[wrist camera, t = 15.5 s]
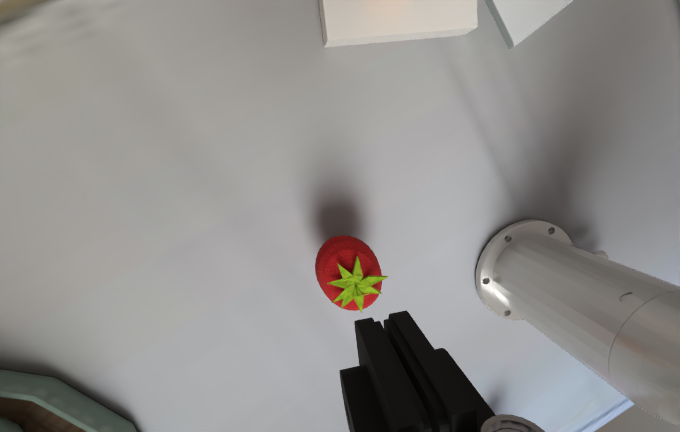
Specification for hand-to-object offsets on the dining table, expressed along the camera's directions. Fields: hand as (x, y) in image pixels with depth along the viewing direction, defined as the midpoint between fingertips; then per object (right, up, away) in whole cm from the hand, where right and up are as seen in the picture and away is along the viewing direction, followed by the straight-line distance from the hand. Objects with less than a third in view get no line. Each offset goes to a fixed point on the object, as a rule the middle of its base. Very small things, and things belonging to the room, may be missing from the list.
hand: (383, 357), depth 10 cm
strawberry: (-1, 0, +26) cm, 26 cm away
